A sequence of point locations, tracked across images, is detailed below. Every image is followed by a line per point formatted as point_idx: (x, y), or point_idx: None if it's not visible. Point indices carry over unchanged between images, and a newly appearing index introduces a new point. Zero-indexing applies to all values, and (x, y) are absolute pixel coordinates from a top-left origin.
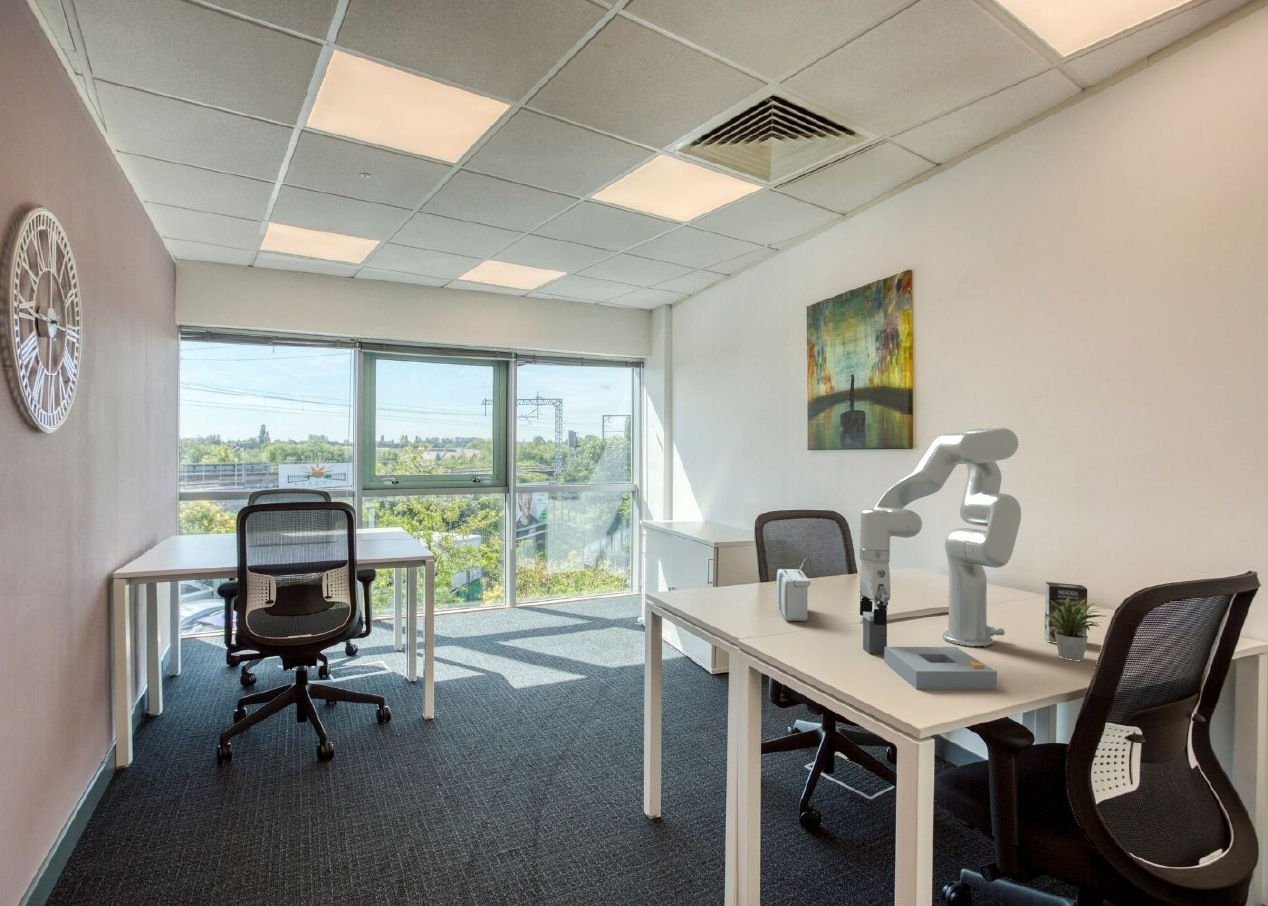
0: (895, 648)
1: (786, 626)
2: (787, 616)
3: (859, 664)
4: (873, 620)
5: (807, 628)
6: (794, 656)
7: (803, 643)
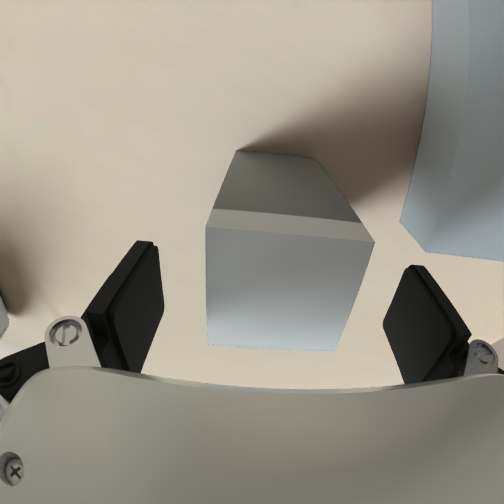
0: (454, 221)
1: (42, 331)
2: (6, 324)
3: (386, 298)
4: (392, 341)
5: (37, 296)
6: None
7: (177, 358)
